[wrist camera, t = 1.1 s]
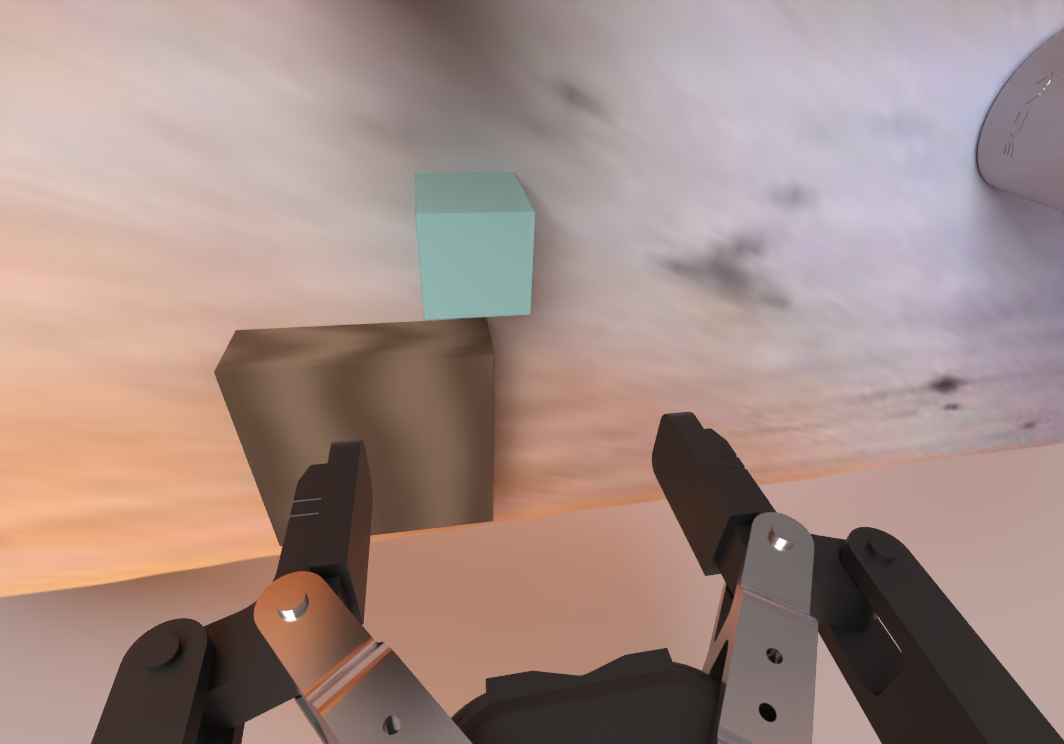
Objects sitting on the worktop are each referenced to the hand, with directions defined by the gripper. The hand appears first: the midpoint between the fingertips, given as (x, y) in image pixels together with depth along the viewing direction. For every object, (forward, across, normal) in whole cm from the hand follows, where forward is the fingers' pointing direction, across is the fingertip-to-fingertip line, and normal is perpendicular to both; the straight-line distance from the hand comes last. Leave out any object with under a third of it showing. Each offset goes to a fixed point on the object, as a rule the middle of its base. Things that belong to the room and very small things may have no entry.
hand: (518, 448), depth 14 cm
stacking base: (+18, +6, +13) cm, 23 cm away
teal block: (+18, 0, 0) cm, 18 cm away
